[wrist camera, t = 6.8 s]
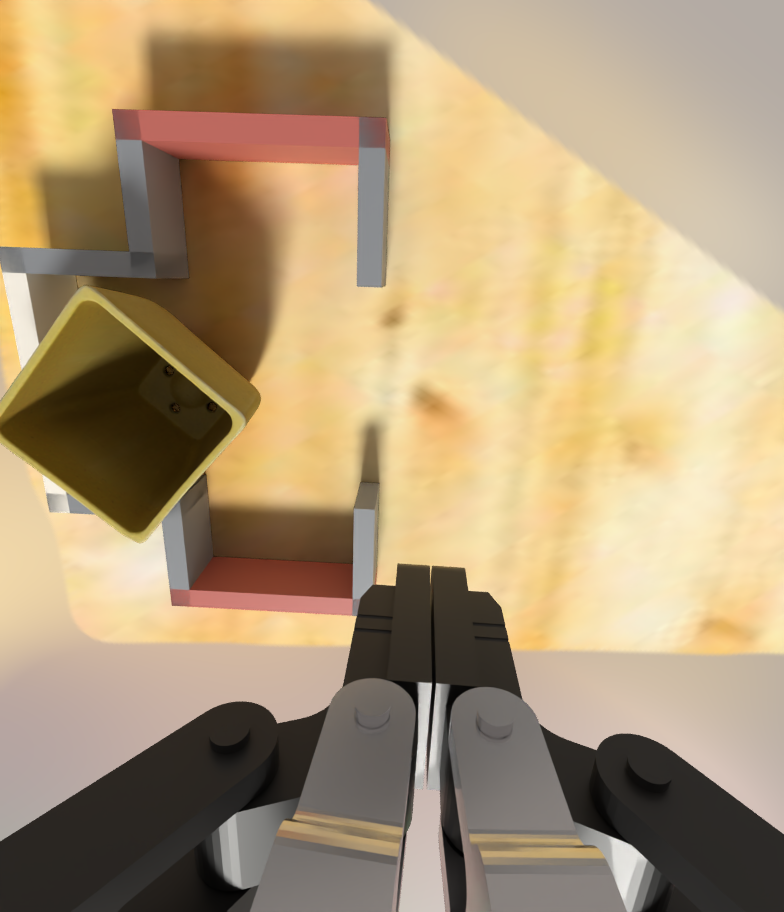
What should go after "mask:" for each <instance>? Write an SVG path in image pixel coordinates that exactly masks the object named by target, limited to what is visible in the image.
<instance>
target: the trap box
mask: <svg viewBox="0 0 784 912" xmlns="http://www.w3.org/2000/svg"><path fill="white" fill-rule="evenodd" d="M112 113H113V121H114V129H115V138H116V146H117V154H118V162H119V171H120V179H121V187H122V196H123V204H124V212H125V221H126V229H127V237H128V245H129V252H125V251H99V250H73V249H47V248H21V247H0V263H1V268H2V273H3V278H4V283H5V288H6V293H7V298H8V303H9V309H10V314H11V319H12V324H13V329H14V334H15V339H16V344H17V349H18V354H19V359H20V364H21V369H23V368H24V366H25V365H26V363H27V362H28V360H29V359H30V357H31V356H32V354H33V352H34V351H35V350H36V348H37V347H38V346H39V344H40V343H41V341H42V340H43V338H44V337H45V335H46V334H47V332H48V331H49V329H50V328H51V326H52V325H53V323H54V322H55V320H56V319H57V317H58V316H59V315H60V313H61V312H62V310H63V309H64V307H65V306H66V305H67V303H68V302H69V300H70V299H71V297H72V296H73V295H74V293H75V292H76V291H77V290H78V288H77V282H76V275H80V276H106V277H131V278H156V279H157V278H189V270H188V259H187V247H186V236H185V224H184V213H183V201H182V190H181V178H180V167H179V159H191V160H221V161H251V162H280V163H310V164H340V165H359V173H358V245H357V286H358V287H384V286H385V285H386V253H387V221H388V189H389V156H390V137H389V131H388V126H387V120H386V118H382V117H350V116H318V115H286V114H254V113H222V112H190V111H158V110H126V109H112ZM43 480H44V486H45V491H46V496H47V501H48V506H49V511H50V512H58V513H77V514H94V513H93V512H91V511H90V510H89V509H88V508H86V507H85V506H84V505H83V504H81V503H80V502H79V501H77V500H76V499H75V498H73V497H72V496H71V495H70V494H68V493H67V492H65V491H64V490H63V489H62V488H60V487H59V486H57V485H56V484H55V483H53V482H52V481H51V480H49V479H48V478H47V477H45V476H44V475H43ZM378 510H379V483H364V482H361V483H360V487H359V491H358V495H357V498H356V502H355V506H354V533H353V564H343V563H325V562H306V561H287V560H268V559H249V558H230V557H213V548H212V536H211V525H210V513H209V501H208V490H207V478H206V475H201V476H200V477H199V478H198V479H197V480H196V482H195V483H194V484H193V485H192V486H191V487H190V488H189V489H188V491H187V492H186V493H185V494H184V495H183V496H182V498H181V499H180V500H179V501H178V502H177V504H176V505H175V506H174V507H173V508H172V510H171V511H170V512H169V513H168V514H167V516H166V517H165V518H164V519H163V521H162V527H163V536H164V544H165V552H166V561H167V569H168V577H169V585H170V594H171V602H172V606H188V607H206V608H224V609H242V610H260V611H278V612H296V613H314V614H332V615H350V616H357V613H358V607H359V602H360V598H361V597H362V596H363V594H364V593H365V592H366V591H367V590H368V589H369V588H370V587H371V586H372V585H376V575H377V543H378Z"/></svg>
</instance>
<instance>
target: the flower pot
mask: <svg viewBox="0 0 784 912" xmlns="http://www.w3.org/2000/svg"><path fill="white" fill-rule="evenodd" d="M167 366H171V367H172V368H173V369H174V374H173V375H168V374H167V373H166V372H165V368H166V367H167ZM260 401H261V397H260V393H259V392H258V390H257V389H256V388H255V387H254V386H253V385H252V384H251V383H250V382H249V381H248V380H246V379H245V378H244V377H243V376H242V375H240V374H239V373H238V372H237V371H236V370H235V369H234V368H232V367H231V366H230V365H229V364H228V363H227V362H225V361H224V360H223V359H222V358H221V357H220V356H218V355H217V354H216V353H215V352H214V351H213V350H212V349H210V348H209V347H208V346H207V345H206V344H205V343H203V342H202V341H201V340H200V339H199V338H198V337H197V336H196V335H194V334H193V333H192V332H191V331H190V330H189V329H188V328H186V327H185V326H184V325H183V324H182V323H181V322H180V321H179V320H178V319H177V318H176V317H174V316H173V315H172V314H171V313H169V312H168V311H167V310H165V309H164V308H163V307H161V306H160V305H158V304H156V303H155V302H153V301H150V300H148V299H145V298H142V297H139V296H135V295H130V294H126V293H122V292H117V291H112V290H108V289H103V288H99V287H94V286H89V285H83V286H82V287H80V288H79V289H78V290H77V291H76V292H75V293H74V295H73V296H72V297H71V299H70V300H69V302H68V303H67V305H66V306H65V307H64V309H63V310H62V312H61V313H60V315H59V316H58V317H57V319H56V320H55V322H54V323H53V325H52V326H51V328H50V329H49V331H48V332H47V334H46V335H45V337H44V338H43V340H42V341H41V343H40V344H39V346H38V347H37V348H36V350H35V351H34V352H33V354H32V356H31V357H30V359H29V360H28V362H27V363H26V365H25V366H24V368H23V369H22V371H21V372H20V373H19V375H18V376H17V378H16V379H15V380H14V382H13V383H12V385H11V386H10V388H9V389H8V391H7V392H6V393H5V395H4V396H3V398H2V399H1V400H0V443H1V444H2V445H3V446H4V447H6V448H7V449H8V450H10V451H11V452H12V453H14V454H15V455H16V456H18V457H19V458H21V459H22V460H24V461H25V462H26V463H28V464H29V465H30V466H32V467H33V468H34V469H36V470H37V471H38V472H40V473H41V474H42V475H44V476H45V477H47V478H48V479H49V480H51V481H52V482H53V483H55V484H56V485H57V486H59V487H60V488H62V489H63V490H64V491H65V492H67V493H68V494H70V495H71V496H72V497H73V498H75V499H76V500H77V501H79V502H80V503H81V504H83V505H84V506H85V507H86V508H88V509H89V510H90V511H91V512H93V513H94V514H95V515H97V516H98V517H99V518H101V519H102V520H103V521H105V522H106V523H107V524H108V525H110V526H111V527H113V528H114V529H115V530H117V531H118V532H119V533H120V534H122V535H124V536H125V537H127V538H129V539H131V540H133V541H135V542H137V543H143V542H145V541H146V540H147V539H148V538H149V537H150V535H151V534H152V533H153V532H154V531H155V529H156V528H157V527H158V526H159V524H160V523H161V522H162V521H163V519H164V518H165V517H166V516H167V514H168V513H169V512H170V511H171V510H172V508H173V507H174V506H175V505H176V504H177V502H178V501H179V500H180V499H181V498H182V496H183V495H184V494H185V493H186V492H187V491H188V489H189V488H190V487H191V486H192V485H193V484H194V483H195V482H196V480H197V479H198V478H199V477H200V476H201V475H202V474H203V473H204V472H205V471H206V469H207V468H208V467H209V466H210V465H211V464H212V463H213V462H214V461H215V459H216V458H217V457H218V456H219V455H220V454H221V453H222V452H223V451H224V450H225V448H226V447H227V446H228V445H229V444H230V443H231V442H232V441H233V440H234V439H235V438H236V437H237V436H238V435H239V433H240V432H241V431H242V430H243V429H244V428H245V426H246V425H247V423H248V422H249V420H250V419H251V417H252V416H253V414H254V413H255V411H256V410H257V408H258V407H259V405H260ZM210 402H213V403H215V404H216V406H217V409H216V410H215V411H211V410H209V409H208V403H210ZM174 403H176V404H178V405H179V406H180V411H179V412H175V411H173V410H172V407H171V406H172V404H174Z"/></svg>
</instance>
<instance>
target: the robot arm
mask: <svg viewBox="0 0 784 912" xmlns="http://www.w3.org/2000/svg"><path fill="white" fill-rule="evenodd" d="M426 748H427V789H429V790H440V805H441V815H440V825H439V850H440V860H441V871H442V881H443V891H444V902H445V912H784V834H782V833H781V832H780V831H778V830H777V829H776V828H774V827H773V826H772V825H770V824H769V823H768V822H766V821H765V820H763V819H762V818H761V817H760V816H758V815H757V814H756V813H754V812H753V811H752V810H750V809H749V808H748V807H746V806H745V805H744V804H742V803H741V802H740V801H738V800H737V799H736V798H734V797H733V796H732V795H730V794H729V793H728V792H726V791H725V790H724V789H722V788H721V787H720V786H718V785H717V784H716V783H714V782H713V781H711V780H710V779H709V778H707V777H706V776H705V775H704V774H702V773H701V772H699V771H698V770H697V769H695V768H694V767H693V766H691V765H690V764H689V763H687V762H686V761H685V760H683V759H682V758H681V757H679V756H678V755H677V754H675V753H674V752H673V751H671V750H670V749H668V748H667V747H665V746H664V745H662V744H660V743H658V742H656V741H654V740H651V739H649V738H646V737H643V736H640V735H634V734H616V735H613V736H610V737H608V738H606V739H605V740H603V741H602V742H601V744H600V745H599V747H598V749H597V750H594V749H591V748H589V747H586V746H583V745H580V744H577V743H574V742H572V741H569V740H566V739H564V738H561V737H559V736H557V735H555V734H553V733H551V732H550V731H549V730H547V729H546V728H544V727H543V726H542V725H540V724H539V722H538V719H537V717H536V715H535V713H534V712H533V710H532V709H531V708H530V707H529V706H528V704H527V703H525V702H524V701H523V700H522V696H521V692H520V687H519V683H518V679H517V674H516V670H515V666H514V661H513V657H512V653H511V648H510V644H509V642H508V635H507V631H506V628H505V622H504V618H503V613H502V609H501V607H500V606H499V604H498V603H497V602H496V601H495V600H494V599H493V597H492V596H491V595H490V594H489V593H488V592H475V591H468V586H467V579H466V572H465V568H458V567H443V566H432V571H431V583H430V566H427V565H412V564H398V566H397V577H396V586H387V585H372V586H371V587H370V588H369V589H368V590H367V591H366V592H365V593H364V594H363V596H362V597H361V598H360V602H359V607H358V613H357V618H356V623H355V628H354V633H353V638H352V643H351V648H350V653H349V658H348V663H347V668H346V674H345V679H344V683H343V687H342V688H341V689H340V690H339V691H338V692H337V693H336V694H335V696H334V697H333V699H332V701H331V703H330V705H329V706H328V707H327V708H325V709H324V710H322V711H320V712H318V713H317V714H314V715H312V716H309V717H306V718H302V719H297V720H292V721H288V722H283V723H278V724H277V722H276V720H275V718H274V716H273V715H272V714H271V713H270V712H269V710H267V709H266V708H264V707H263V706H260V705H258V704H255V703H252V702H231V703H226V704H222V705H219V706H217V707H214V708H212V709H210V710H209V711H207V712H205V713H204V714H202V715H200V716H199V717H197V718H196V719H194V720H192V721H191V722H189V723H188V724H186V725H184V726H183V727H182V728H180V729H178V730H176V731H175V732H173V733H172V734H170V735H169V736H167V737H165V738H164V739H162V740H161V741H159V742H158V743H156V744H154V745H153V746H151V747H149V748H148V749H146V750H145V751H143V752H142V753H140V754H138V755H137V756H135V757H134V758H132V759H130V760H129V761H127V762H126V763H124V764H123V765H121V766H119V767H118V768H116V769H115V770H113V771H111V772H110V773H108V774H107V775H105V776H103V777H102V778H100V779H99V780H97V781H96V782H94V783H92V784H91V785H89V786H88V787H86V788H84V789H83V790H81V791H80V792H78V793H76V794H75V795H73V796H72V797H70V798H69V799H67V800H66V801H64V802H62V803H61V804H59V805H57V806H56V807H54V808H53V809H51V810H50V811H48V812H46V813H45V814H43V815H42V816H40V817H39V818H37V819H35V820H34V821H32V822H31V823H29V824H27V825H26V826H24V827H23V828H21V829H19V830H18V831H16V832H15V833H13V834H11V835H10V836H8V837H7V838H5V839H4V840H2V841H0V912H399V905H400V896H401V886H402V877H403V868H404V858H405V848H406V838H407V831H408V828H409V826H410V824H411V820H412V813H413V812H412V811H413V799H414V789H423V783H424V771H425V758H426Z"/></svg>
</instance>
